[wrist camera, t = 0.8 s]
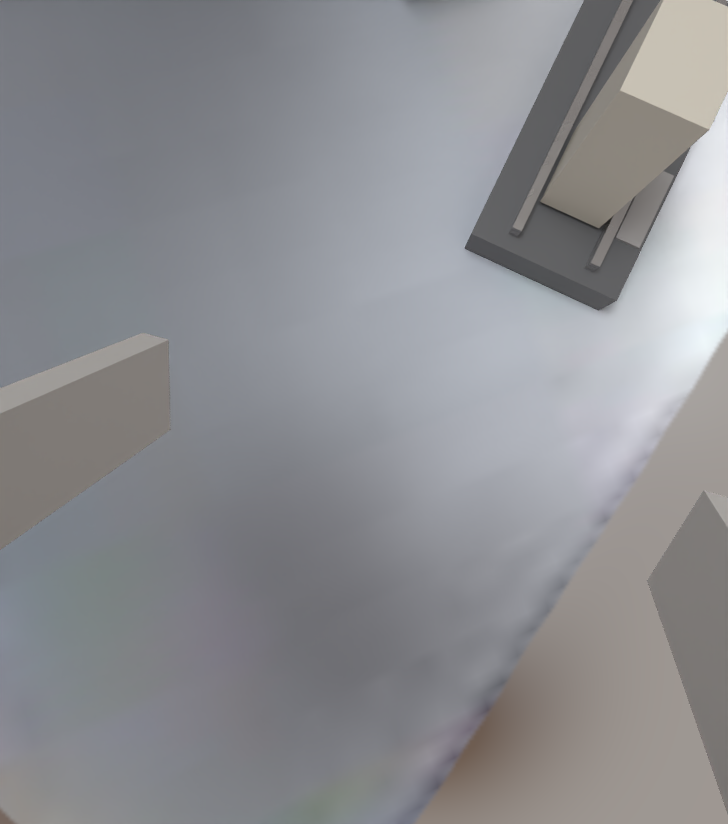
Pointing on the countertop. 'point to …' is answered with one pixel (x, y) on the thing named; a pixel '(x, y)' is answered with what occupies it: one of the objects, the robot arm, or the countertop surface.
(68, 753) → the countertop surface
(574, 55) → the switch plate
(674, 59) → the switch tab
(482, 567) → the countertop surface
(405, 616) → the countertop surface
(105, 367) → the robot arm
